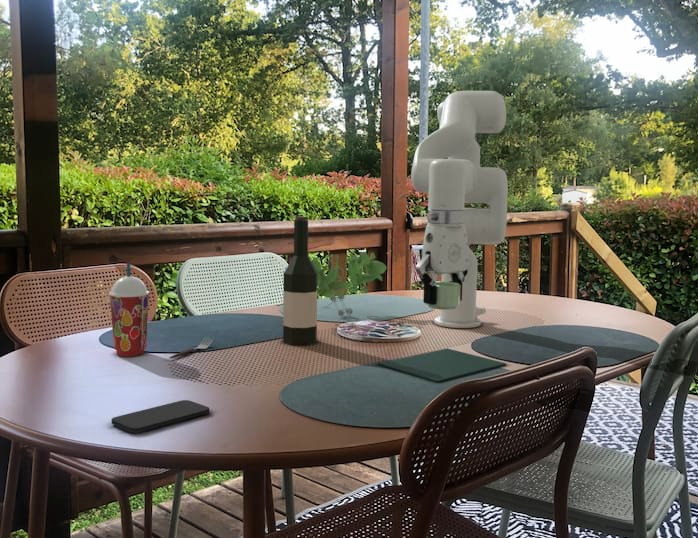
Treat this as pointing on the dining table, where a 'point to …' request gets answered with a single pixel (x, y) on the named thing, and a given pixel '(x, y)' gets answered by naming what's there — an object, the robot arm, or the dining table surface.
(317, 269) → the plant cuttings
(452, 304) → the bowl
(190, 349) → the fork
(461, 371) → the placemat
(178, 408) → the phone
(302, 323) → the wine bottle
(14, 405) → the dining table surface
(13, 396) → the dining table surface
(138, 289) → the smoothie
